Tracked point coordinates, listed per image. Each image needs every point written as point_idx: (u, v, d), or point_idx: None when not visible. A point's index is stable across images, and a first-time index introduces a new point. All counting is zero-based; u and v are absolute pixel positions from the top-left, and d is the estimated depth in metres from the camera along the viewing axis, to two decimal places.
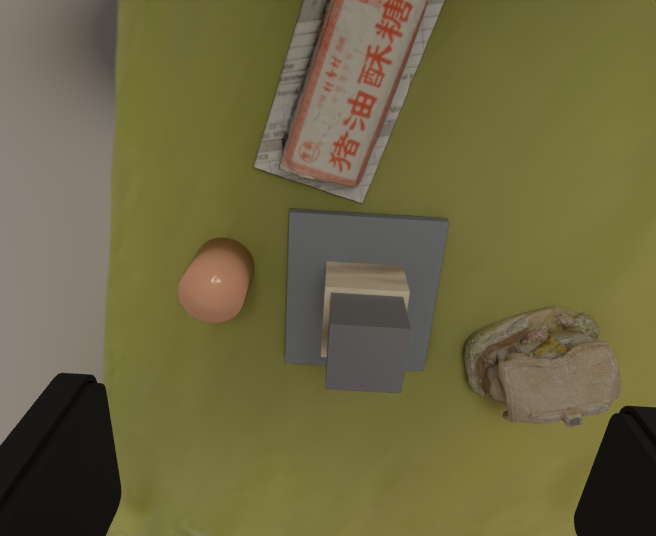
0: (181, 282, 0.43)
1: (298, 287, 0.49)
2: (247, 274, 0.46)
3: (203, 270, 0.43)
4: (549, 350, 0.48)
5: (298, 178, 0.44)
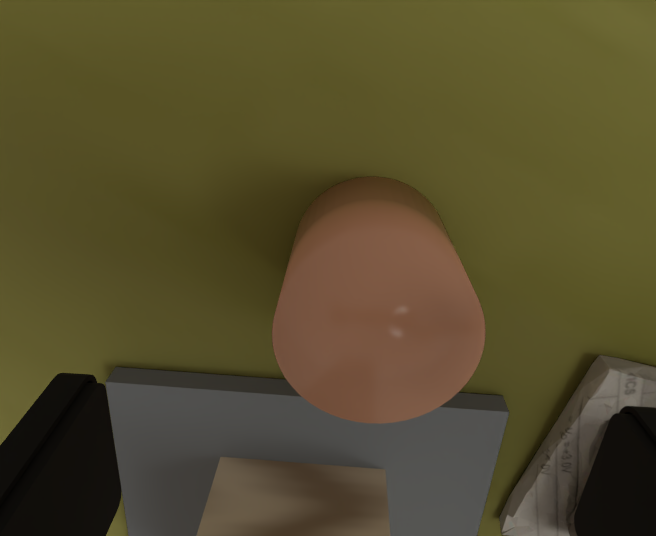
0: (431, 259, 0.12)
1: (320, 418, 0.21)
2: None
3: (468, 330, 0.13)
4: None
5: (568, 442, 0.21)
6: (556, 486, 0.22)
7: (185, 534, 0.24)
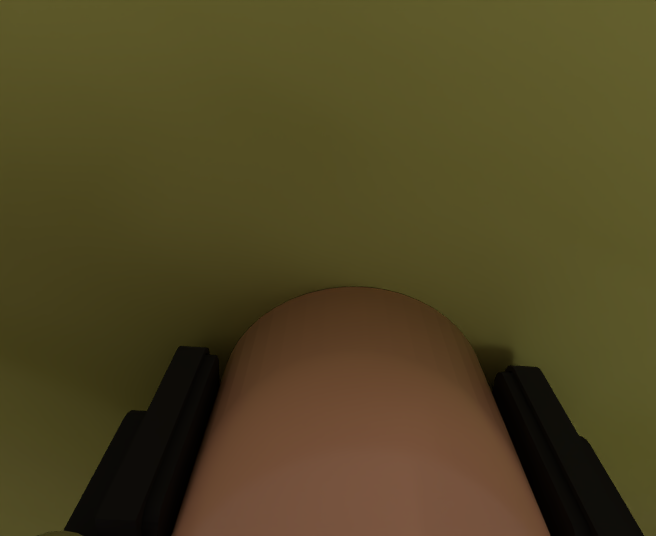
0: None
1: None
2: None
3: None
4: None
5: None
6: None
7: None
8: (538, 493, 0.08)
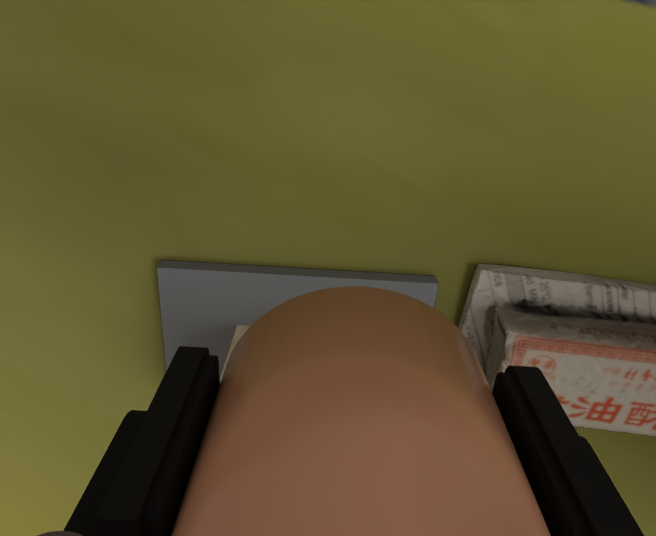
0: None
1: (308, 292, 0.30)
2: None
3: None
4: None
5: (468, 326, 0.31)
6: None
7: None
8: (538, 493, 0.08)
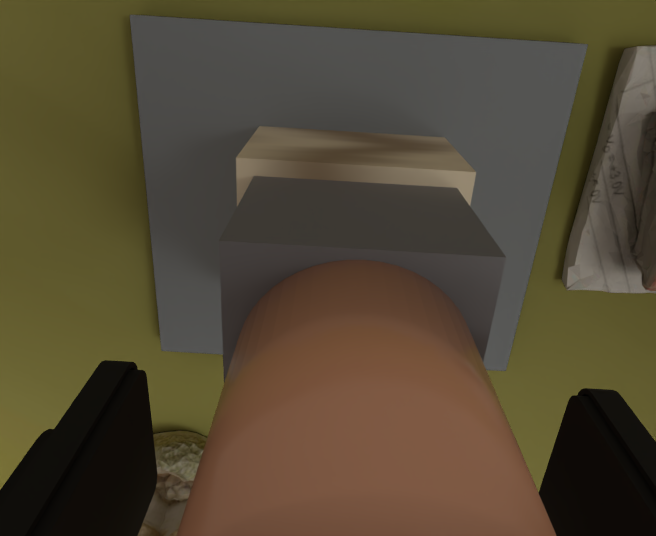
0: (482, 523, 0.06)
1: (374, 62, 0.19)
2: None
3: None
4: None
5: (612, 155, 0.20)
6: (612, 215, 0.21)
7: (216, 245, 0.22)
8: (636, 531, 0.07)
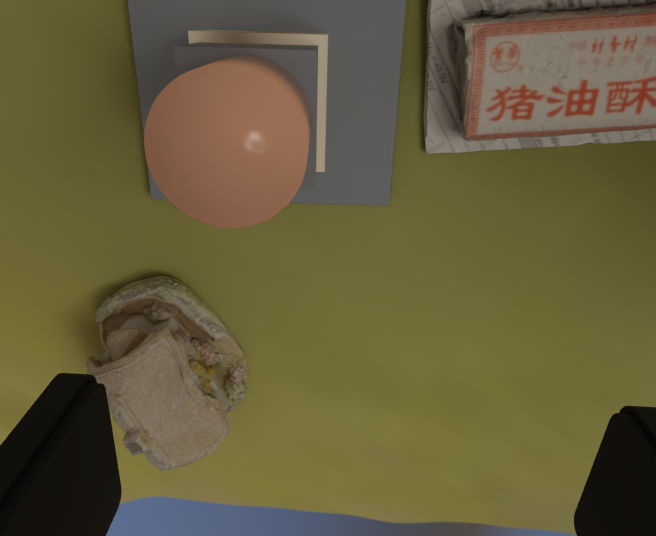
0: (255, 78, 0.17)
1: None
2: None
3: (293, 138, 0.17)
4: (201, 375, 0.38)
5: (433, 56, 0.31)
6: (444, 97, 0.32)
7: None
8: None
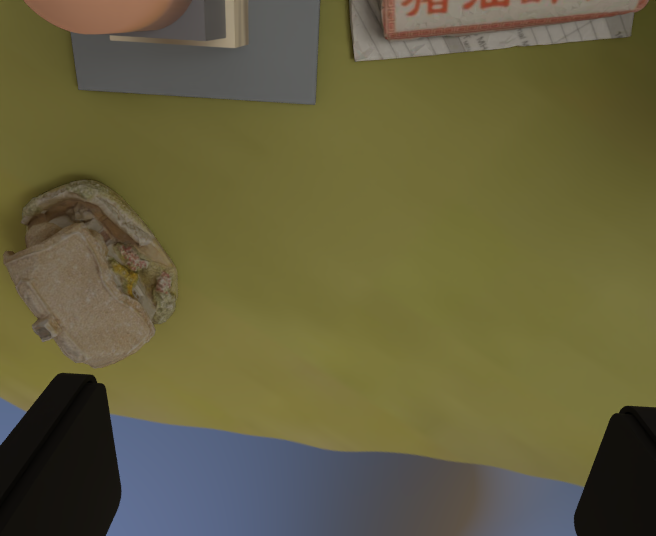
0: None
1: None
2: (133, 30, 0.21)
3: None
4: (122, 276, 0.38)
5: None
6: (367, 1, 0.33)
7: None
8: None
